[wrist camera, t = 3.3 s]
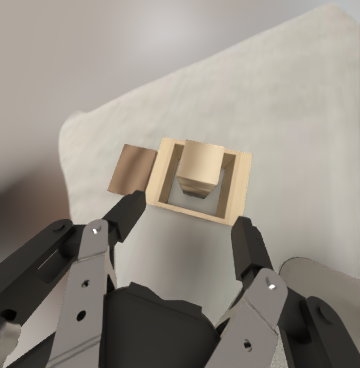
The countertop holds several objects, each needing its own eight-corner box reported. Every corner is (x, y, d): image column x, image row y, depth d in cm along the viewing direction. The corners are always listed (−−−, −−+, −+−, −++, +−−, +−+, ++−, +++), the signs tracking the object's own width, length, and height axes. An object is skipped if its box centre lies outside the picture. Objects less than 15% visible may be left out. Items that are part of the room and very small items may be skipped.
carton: (237, 168, 31) (252, 154, 23) (227, 224, 29) (240, 228, 21) (169, 154, 34) (162, 137, 26) (154, 204, 31) (142, 202, 23)
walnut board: (157, 153, 34) (156, 150, 33) (143, 200, 32) (140, 199, 30) (127, 146, 35) (124, 144, 34) (110, 191, 33) (107, 190, 31)
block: (208, 179, 31) (225, 146, 16) (203, 198, 30) (217, 185, 15) (188, 174, 32) (186, 139, 16) (183, 193, 31) (176, 175, 15)
